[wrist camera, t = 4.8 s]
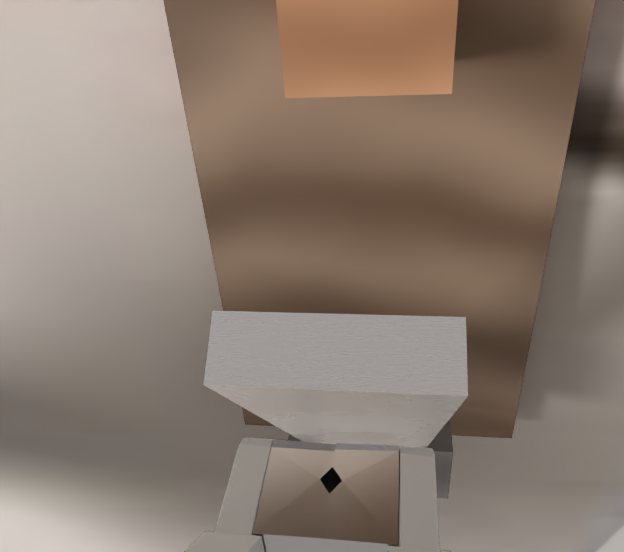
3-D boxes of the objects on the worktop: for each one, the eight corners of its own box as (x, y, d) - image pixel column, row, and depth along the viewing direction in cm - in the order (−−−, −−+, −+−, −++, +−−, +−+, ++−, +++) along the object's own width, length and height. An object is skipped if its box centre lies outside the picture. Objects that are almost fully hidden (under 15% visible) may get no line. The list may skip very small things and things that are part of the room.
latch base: (507, 415, 32) (530, 538, 26) (251, 403, 34) (220, 515, 28) (619, -212, 17) (730, -244, 11) (148, -170, 19) (38, -178, 13)
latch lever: (416, 431, 26) (416, 459, 26) (326, 426, 27) (325, 454, 26) (465, 316, 9) (467, 396, 9) (211, 310, 10) (203, 385, 9)
